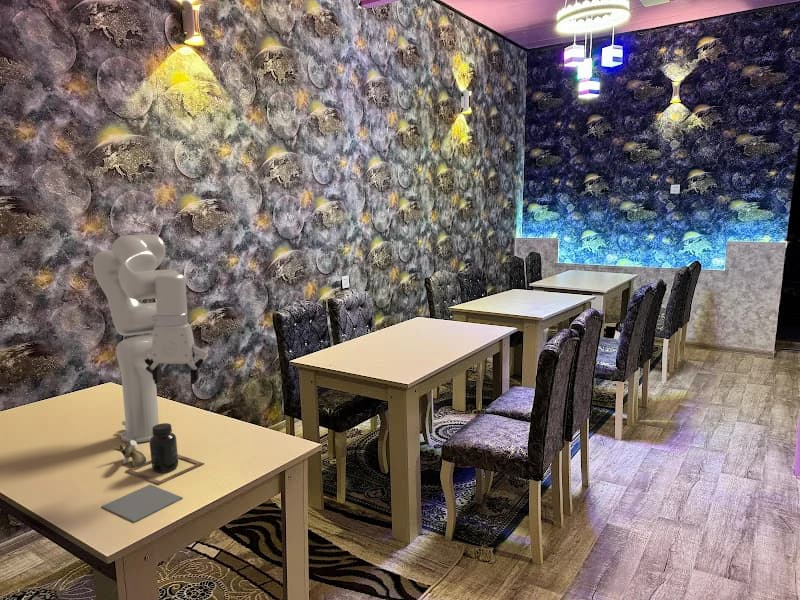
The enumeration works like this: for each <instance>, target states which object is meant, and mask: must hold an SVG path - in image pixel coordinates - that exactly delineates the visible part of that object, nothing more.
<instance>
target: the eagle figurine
mask: <svg viewBox="0 0 800 600" xmlns="http://www.w3.org/2000/svg"><path fill="white" fill-rule="evenodd" d="M118 447H119V448H118ZM118 447H115V446H113V445H112V446H111V448H112V449H113V450H115V451H117V452H120V453H121V454H122V455H123V460H122V461H123V463H122V465H125V464H126V463H127V462H128V460H129V458H131V460H132V467H136V466H137V467H139V466H142V465H143V464H144V463H145V462H147V458H146V456H145V455H144V453H143V452H141V451H139V450H137V449H139V445H138V443H136V441H134V440H130V441H129V442H126V443H125V447H123V446H122V444H120V445H119V446H118Z"/></svg>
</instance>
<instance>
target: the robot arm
mask: <svg viewBox="0 0 800 600" xmlns="http://www.w3.org/2000/svg"><path fill="white" fill-rule="evenodd" d="M165 257H166V245H165V242H164V241H163V239H162V238H161V237H160V236H159V235H157V234H127V235H122V236H119V237H117V238H116V239H115V240H114V241H113V243H112V246H111V249H108V250H103V251H100V252H98V253H96V254H95V255H94V257H93V261H92V269H93V273H94V276H95V277H94V278H95V279H96V281H97V283H98V285H99V287H100V288H101V290H102V292H103V293H104V295H105V297H106V299H107V303H108V306H109V307H108V308H109V311H110V314H111V319H112V321H113V324H114V325H113V326H114V328H115V331H116V332H117V334H118V335H121V336H125V337H126V336H133V337H127V338H125V339H122V340H121V341H119V342H118V344H117V346H116V347H115V354H116V359H117V362H118V367H119V370H120V377H121V384H122V385H121V386H122V395H123V408H124V419H125V420H122V422H121V425H122V426H123V427H124V428H125V429H124V431H123V432H121V434H120V440H122V441H123V442H126V443H127V442H129V441H130V440H134V441H136V443H137V444H138V443H146V442H150V439H151V437H152V436H153V433H152V432H153V430H152V428H153V426H155V425H158V424H160V420H159V409H158V406H159V405H158V393H157V392H158V391H157V385H158V384H159V383H160V382H162V380H163V379H162V378H163V377H162V367H161V366H160V365H161V364H162V365H164V364H165V365H173V364H174V365H183V364H184V365H185V364H187V365H188V366H189V367H190V368H191V369H190V371H189V372H190V375H189V376H190V384H191V385H194V384H196V383H197V382H198V381H199V379H200V376H199V375H200V372H199V367H201V365H202V364H203V363H205V360H206V358H207V356H208V351H206V350H204V349H202V348H200V347H199V346H196V345H195V339H194V334H193V330H192V329H193V328H192V325H191V324H190V323H189V321H188V320H189V319H188V306H187V305H188V304H187V284H186V283H187V282H186V277H185V276H184V275H183V274H182V273H179V272H178V271H176V270H174V269H157V268H158V267H159V266H160V265H161V263H163V261H164V259H165ZM150 299H155V302H147V303H141V302H140V301H142V300H150ZM151 333H152V334H151ZM144 334H145V335H144ZM146 334H147V335H146ZM136 335H138V336H136ZM139 335H140V336H139ZM196 354H197V355H199V359H198V360H197V359H196ZM147 367H149V369H150V370H152V372H150V371H148V370H147Z"/></svg>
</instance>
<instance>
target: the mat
mask: <svg viewBox="0 0 800 600" xmlns="http://www.w3.org/2000/svg"><path fill="white" fill-rule="evenodd" d="M183 499H184V498H183V496H180V495H178V494H175V493H174V492H170V491H167V490H164V489H163V488H160V487H157V486H155V485H153V484H147V485H145V486H143V487H140V488H139V489H136V490H134V491H133V492H130V493H128V494H125V495H123V496H121V497H119V498H116V499H114V500H112V501H109V502H108V503H104V504H103V505H101V508H102V509H104V510H107V511H109V512H110V513H113V514H115V515H117V516H119V517H121V518H124V519H126V520H128V521H130V522H132V523H134V524H135V523H137V522H139V521H141V520H143V519H145V518H146V517H148V516H149V517H150V516H152V515H153V514H155V513H157V512H159V511H161V510H163V509H165V508H167V507H169V506H171V505H172V504H175V503H177V502H179V501H181V500H183Z"/></svg>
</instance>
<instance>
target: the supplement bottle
mask: <svg viewBox="0 0 800 600" xmlns="http://www.w3.org/2000/svg"><path fill="white" fill-rule="evenodd" d="M152 430H153V432H152V433H153V436H152V437H151V439H150V441H149V449H150V460H151V463H150V464H151V468H152V471H154V472H155V473H169V472H168V471H170V472H172V471H174V470H173V469H175V468H177V467H179V458H178V455H179V454H178V453H179V452H178V445H177V444H178V443H177V441H178V440H177V436H176V434H175V433H173V429H172V424H170V423H166V422H162V423H159V424H158V425H155V426H153V428H152ZM171 470H172V471H171ZM175 470H176V469H175Z"/></svg>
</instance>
